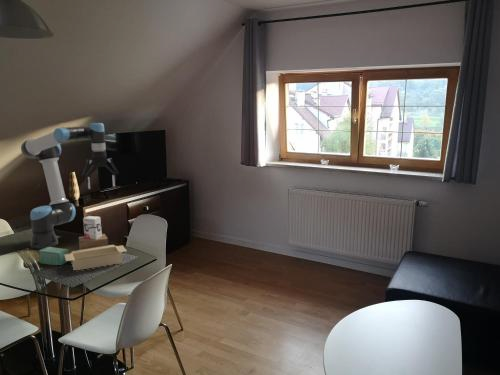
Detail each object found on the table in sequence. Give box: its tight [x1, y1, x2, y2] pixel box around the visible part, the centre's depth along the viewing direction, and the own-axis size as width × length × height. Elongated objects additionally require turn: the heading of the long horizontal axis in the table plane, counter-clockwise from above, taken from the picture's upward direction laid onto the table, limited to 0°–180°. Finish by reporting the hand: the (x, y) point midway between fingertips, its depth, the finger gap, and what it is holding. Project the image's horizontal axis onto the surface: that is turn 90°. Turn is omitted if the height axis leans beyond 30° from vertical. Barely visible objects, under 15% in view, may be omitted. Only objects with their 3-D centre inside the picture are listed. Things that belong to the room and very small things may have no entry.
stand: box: [78, 233, 109, 250], centre depth 234 cm, size 10×14×10 cm
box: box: [38, 246, 70, 266], centre depth 223 cm, size 7×14×8 cm, turn 73°
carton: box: [64, 244, 128, 270], centre depth 221 cm, size 19×30×8 cm, turn 118°
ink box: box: [82, 215, 103, 239], centre depth 233 cm, size 8×5×12 cm, turn 69°
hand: (101, 187), depth 239 cm, fingers open, 13 cm apart
